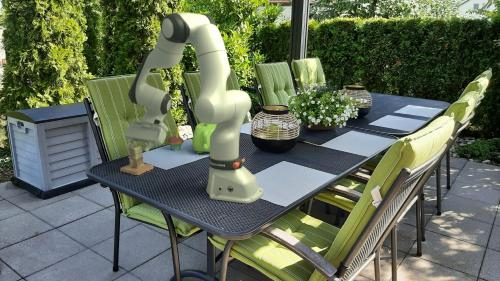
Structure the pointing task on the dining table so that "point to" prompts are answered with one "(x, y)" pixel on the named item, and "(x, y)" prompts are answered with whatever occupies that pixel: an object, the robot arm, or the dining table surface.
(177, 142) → the cupcake
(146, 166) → the tile
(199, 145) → the teapot
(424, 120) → the dining table surface
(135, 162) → the post
